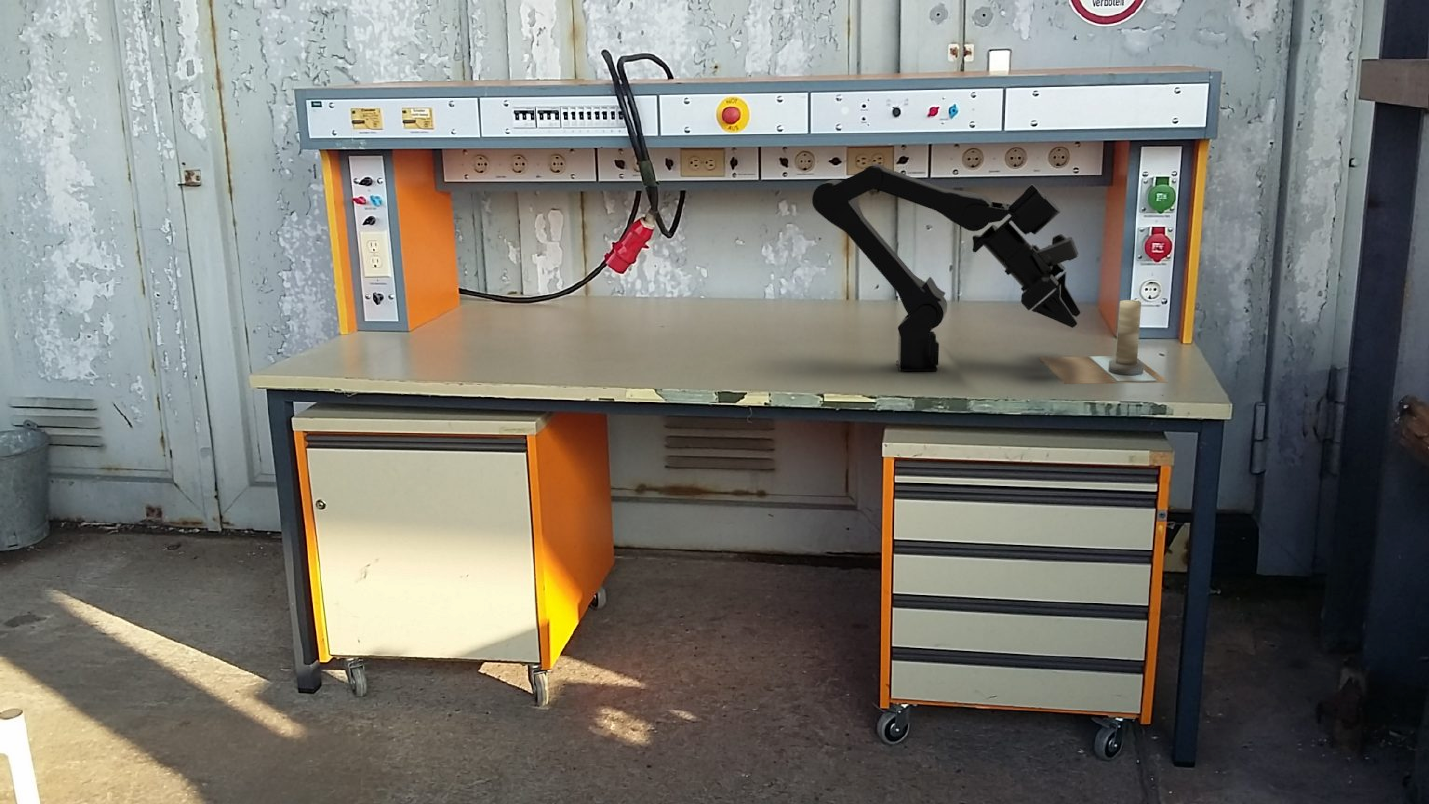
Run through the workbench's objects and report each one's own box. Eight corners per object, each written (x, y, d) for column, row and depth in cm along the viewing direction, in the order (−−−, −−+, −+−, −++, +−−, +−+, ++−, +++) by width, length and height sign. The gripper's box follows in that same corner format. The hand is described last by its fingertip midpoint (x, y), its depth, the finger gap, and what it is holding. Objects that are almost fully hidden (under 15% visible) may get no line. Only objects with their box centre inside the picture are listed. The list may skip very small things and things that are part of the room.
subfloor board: (1064, 390, 202) (1065, 382, 202) (1038, 364, 220) (1039, 356, 219) (1168, 389, 202) (1168, 380, 202) (1134, 362, 219) (1134, 355, 219)
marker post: (1110, 375, 206) (1115, 305, 202) (1106, 366, 211) (1110, 298, 208) (1145, 375, 205) (1150, 305, 201) (1140, 367, 210) (1145, 298, 207)
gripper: (1046, 228, 197) (1112, 299, 197) (1055, 214, 214) (1116, 279, 214) (994, 274, 202) (1058, 343, 202) (1007, 256, 219) (1066, 320, 219)
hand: (1077, 320), depth 209 cm, fingers open, 9 cm apart
